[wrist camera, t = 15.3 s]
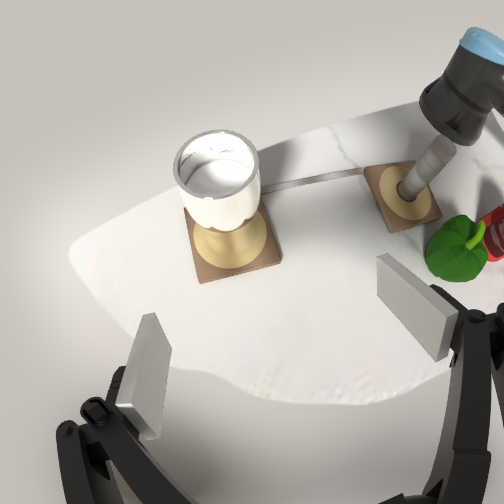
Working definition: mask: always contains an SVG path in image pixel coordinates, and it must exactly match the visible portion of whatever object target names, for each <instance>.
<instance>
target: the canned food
mask: <svg viewBox="0 0 504 504" xmlns="http://www.w3.org/2000/svg"><path fill="white" fill-rule="evenodd" d="M481 220H483V221H484V222H485V232H484V235H483V238H484V239H483V244H484V246H485V247H486V249H487V252H488V256H489V258H488V261H491V262H495V261H498V260H501V259H503V258H504V203H503V204H502V205H500V206H499V207H497V208H496V209H495V210H493V211H492V212H490V213H489V214H488V215H486V216H485V217H483V218H482V219H480V221H481ZM478 225H479V222H478Z"/></svg>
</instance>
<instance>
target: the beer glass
mask: <svg viewBox="0 0 504 504" xmlns="http://www.w3.org/2000/svg"><path fill="white" fill-rule="evenodd" d="M173 172H174V177H175V180H176V182H177V185H178V189H179V192H180V195H181V198H182V200H183V203H184V205H185V207H186V209H187V210H188V212H189V214H190V215H191V217H192V218H193V219H194V220H195V222H196V223H197V224H198V225H199V226H200V227H201V228H203V229H204V230H205V237H206V241H207V243H208V245H209V246H210V248H211V249H212V250H214V251H215V252H216V253H218V254H221V255H224V256H235V255H239V254H241V253H243V252H245V251H246V250H247V249H248V248H249V247H250V246H251V244H252V243H253V241H254V238H255V225H254V222H253V218H254V216H255V213H256V211H257V208H258V204H259V200H260V191H261V180H260V170H259V158H258V153H257V151H256V148H255V147H254V145H253V144H252V143H251V142H250V141H249V140H248V139H247V138H246V137H244V136H243V135H241V134H239V133H236V132H233V131H229V130H211V131H207V132H203V133H201V134H198V135H196V136H194V137H192V138H191V139H190V140H188V141H187V142H186V143H185V144H184V145H183V146H182V147H181V148H180V150H179V151H178V153H177V155H176V157H175V160H174V164H173Z"/></svg>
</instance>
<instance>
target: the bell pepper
mask: <svg viewBox="0 0 504 504" xmlns="http://www.w3.org/2000/svg"><path fill="white" fill-rule="evenodd" d="M484 232H485V222H484V221H483V220H481V221H479V225H478V224H476V223H475V222H473V221H471V220H470V219H469V218H468V217H467V216H466V215H459V216H456V217H454V218H451V219H450V220H448V221H447V222H446V223H445V224H443V226H442V227H441V228H440V229H439V230H438V231H437V232H436V233H435V234H434V236H433V237H432V239H431V240H430V242H429V244H428V246H427V248H426V259H425V260H426V263H427V266H428V268H429V270H430V271H431V272H432V273H433V275H434V276H436V277H440V278H441V279H443V280H446V281H449V282H467V281H470V280H473V279H475V278H476V276H477V275H478V274H479V273H480V272H481V270H482V269H483V267H484V265H485V263H486V261H487V260H488V258H489V256H488V252H487V249H486V247H485V246H484V244H483V239H484V238H483V235H484Z"/></svg>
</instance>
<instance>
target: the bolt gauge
mask: <svg viewBox="0 0 504 504" xmlns="http://www.w3.org/2000/svg"><path fill="white" fill-rule="evenodd" d="M455 154H456V147H455V145H454V143H453V142H452V141H451V140H450V139H449V138H448V137H446V136H444V135H438V136H437V137H436V138H435V140H434V141H433V142H432V144H431V145H430V146H429V148H428V149H427V150H426V151H425V153H424V154H423V155H422V157H421V158H420V159H419V160H418V162H417V163H416V161H407V162H400V163H394V164H387V165H381V166H374V167H368V168H365V169H364V171H363V170H362V168H358V169H352V170H347V171H341V172H336V173H330V174H325V175H320V176H314V177H309V178H304V179H299V180H295V181H290V182H285V183H280V184H276V185H271V186H267V187H262V188H261V191H260V194H264V193H269V192H273V191H277V190H282V189H287V188H291V187H296V186H301V185H305V184H310V183H315V182H320V181H325V180H330V179H336V178H341V177H346V176H352V175H357V174H364V176H365V178H366V180H367V182H368V184H369V187H370V189H371V191H372V193H373V195H374V198H375V200H376V202H377V204H378V207H379V209H380V211H381V214H382V216H383V218H384V221H385V223H386V226H387V228H388V231H389V233H393V232H397V231H400V230H404V229H407V228H411V227H414V226H418V225H421V224H425V223H428V222H432V221H435V220H438V219H440V218H441V217H442V213H441V211H440V209H439V207H438V205H437V202H436V200H435V198H434V196H433V194H432V192H431V190H430V188H429V186H428V184H429V182H430V181H431V180H432V179H433V178H434V177H435V176H436V175H437V174H438V173H439V172H440V171H441V170H442V169H443V168H444V166H445V165H446V164H447V163H448V162H449V161H450V160H451V159H452V158H453V157H454V155H455ZM184 212H185V218H186V223H187V228H188V234H189V239H190V244H191V249H192V254H193V258H194V263H195V268H196V273H197V277H198V282H199V283H200V284H202V283H206V282H210V281H214V280H218V279H222V278H226V277H230V276H234V275H238V274H242V273H246V272H250V271H253V270H257V269H261V268H265V267H269V266H273V265H276V264H280V262H281V260H280V257H279V253H278V250H277V247H276V244H275V240H274V237H273V234H272V230H271V227H270V224H269V221H268V218H267V214H266V211H265V208H264V205H263V202H262V198H261V195H260V200H259V204H258V208H257V211H256V213H255V216H254V218H253V222H254V225H255V238H254V241H253V243H252V244H251V246H250V247H249V248H248V249H247V250H246V251H245V252H243V253H241V254H239V255H235V256H224V255H221V254H218V253H216V252H215V251H214V250H212V249H211V248H210V246H209V245H208V243H207V241H206V237H205V230H204V229H203V228H201V227H200V226H199V225H198V224H197V223H196V222H195V220H194V219H193V218H192V217H191V215H190V214H189V212H188V210H187V209H186V207H185V208H184Z"/></svg>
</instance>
